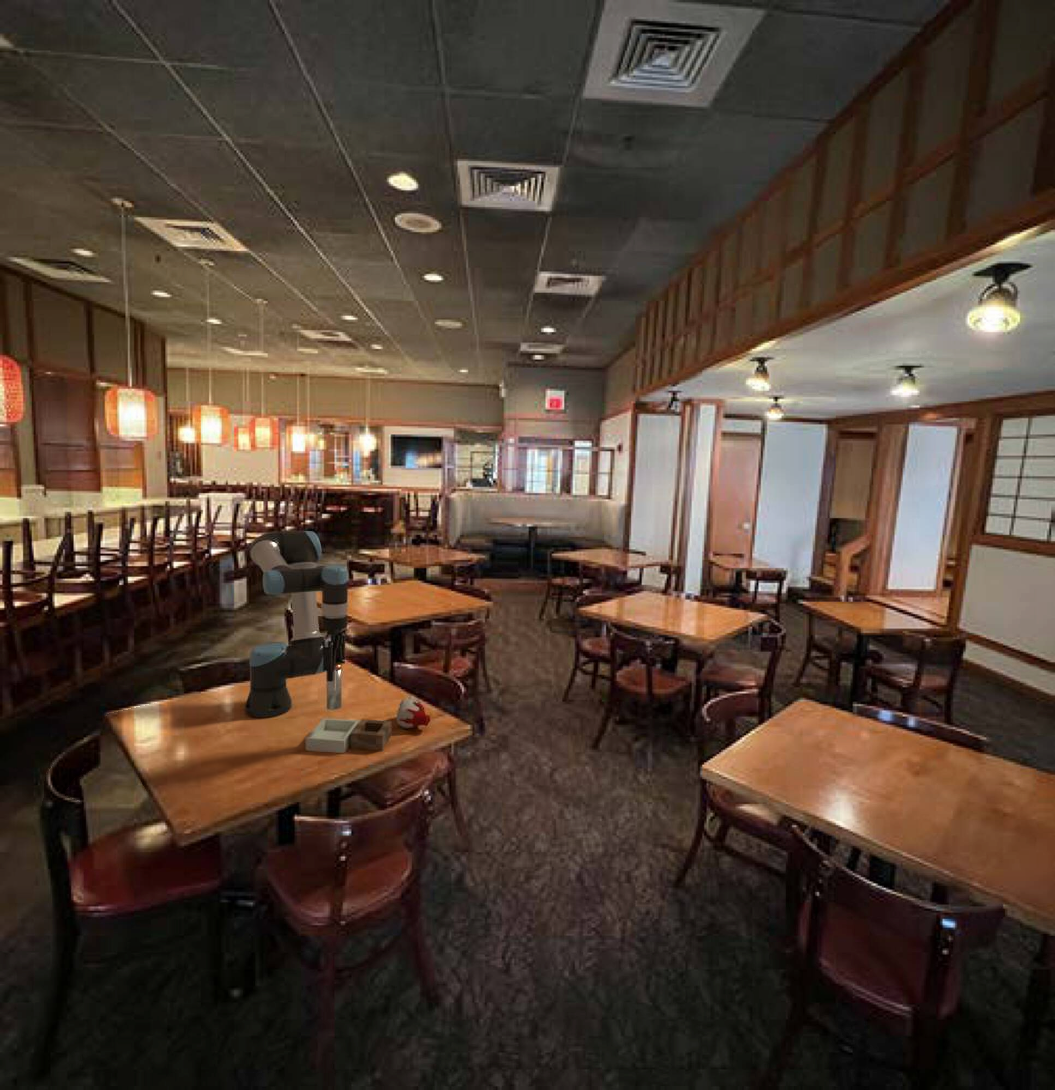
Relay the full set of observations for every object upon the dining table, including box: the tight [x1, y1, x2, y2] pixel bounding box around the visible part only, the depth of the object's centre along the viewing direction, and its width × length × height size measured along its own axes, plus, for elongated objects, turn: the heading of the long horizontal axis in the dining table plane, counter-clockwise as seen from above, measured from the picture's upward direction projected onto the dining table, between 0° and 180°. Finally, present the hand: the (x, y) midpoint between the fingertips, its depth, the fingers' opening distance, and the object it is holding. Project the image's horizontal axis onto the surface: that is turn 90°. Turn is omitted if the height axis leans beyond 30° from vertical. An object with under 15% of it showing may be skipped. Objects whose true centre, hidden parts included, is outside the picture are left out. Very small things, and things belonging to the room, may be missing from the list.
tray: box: [305, 717, 361, 754], centre depth 177 cm, size 14×12×4 cm
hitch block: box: [350, 718, 392, 752], centre depth 177 cm, size 10×10×5 cm
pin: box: [326, 662, 343, 711], centre depth 174 cm, size 4×4×14 cm
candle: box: [396, 695, 431, 730], centre depth 190 cm, size 9×11×15 cm
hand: (334, 686), depth 175 cm, fingers closed on pin, 4 cm apart
